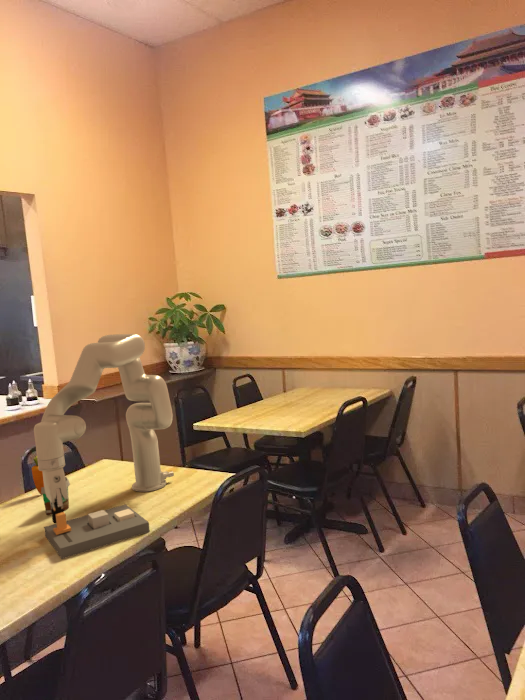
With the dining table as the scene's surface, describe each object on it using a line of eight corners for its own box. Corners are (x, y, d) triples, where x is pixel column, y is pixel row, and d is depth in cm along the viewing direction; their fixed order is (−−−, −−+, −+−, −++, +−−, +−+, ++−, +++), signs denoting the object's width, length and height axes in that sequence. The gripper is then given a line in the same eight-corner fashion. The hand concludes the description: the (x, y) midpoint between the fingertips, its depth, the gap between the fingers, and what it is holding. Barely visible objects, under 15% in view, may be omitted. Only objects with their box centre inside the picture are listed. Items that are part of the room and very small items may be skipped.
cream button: (130, 520, 187) (128, 508, 186) (135, 525, 183) (134, 512, 182) (115, 525, 184) (114, 512, 184) (120, 529, 180) (119, 517, 180)
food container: (60, 516, 196) (57, 487, 195) (43, 516, 197) (40, 487, 196) (79, 502, 208) (75, 475, 207) (63, 502, 209) (60, 475, 208)
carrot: (36, 493, 222) (32, 454, 220) (50, 491, 222) (45, 453, 221) (32, 497, 217) (27, 458, 216) (46, 496, 218) (41, 457, 216)
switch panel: (126, 513, 194) (125, 504, 194) (149, 531, 177) (148, 521, 177) (45, 536, 180) (44, 526, 180) (61, 558, 163) (60, 548, 163)
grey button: (104, 522, 182) (103, 509, 182) (109, 526, 178) (108, 514, 178) (89, 526, 180) (87, 514, 179) (94, 531, 176) (92, 518, 175)
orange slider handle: (68, 526, 178) (66, 510, 177) (71, 530, 175) (69, 513, 174) (53, 531, 175) (51, 514, 175) (56, 534, 172) (54, 517, 172)
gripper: (70, 465, 171) (77, 525, 173) (58, 454, 184) (65, 511, 186) (43, 471, 167) (51, 532, 169) (33, 460, 180) (40, 517, 182)
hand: (58, 521), depth 178 cm, fingers closed
